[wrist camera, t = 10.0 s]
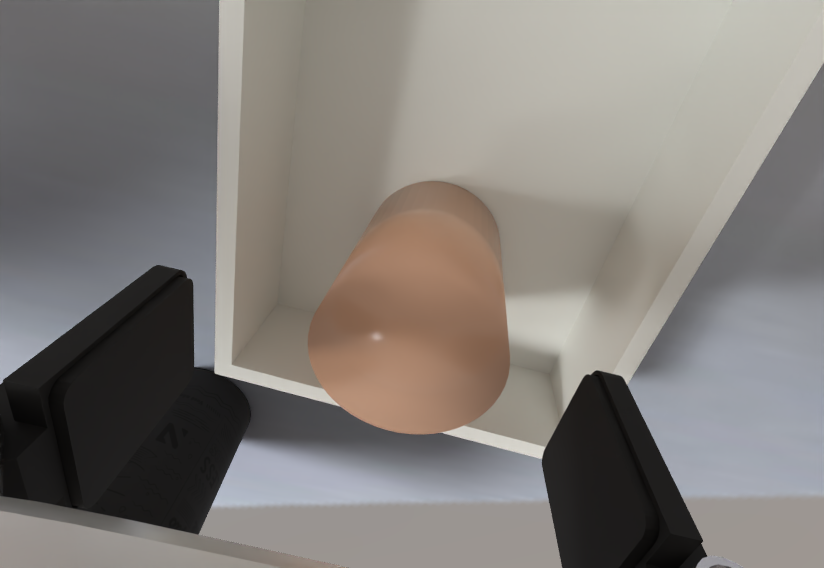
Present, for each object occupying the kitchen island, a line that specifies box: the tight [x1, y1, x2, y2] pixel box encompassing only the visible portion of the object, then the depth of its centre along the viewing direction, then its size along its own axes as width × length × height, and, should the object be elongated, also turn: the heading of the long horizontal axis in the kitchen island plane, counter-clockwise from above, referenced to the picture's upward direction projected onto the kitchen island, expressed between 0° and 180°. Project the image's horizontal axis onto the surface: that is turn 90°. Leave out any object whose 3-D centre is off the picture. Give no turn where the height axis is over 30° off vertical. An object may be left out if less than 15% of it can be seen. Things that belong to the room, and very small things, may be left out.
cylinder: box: [308, 181, 510, 434], centre depth 14 cm, size 5×5×7 cm
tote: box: [215, 0, 824, 459], centre depth 14 cm, size 13×17×5 cm
